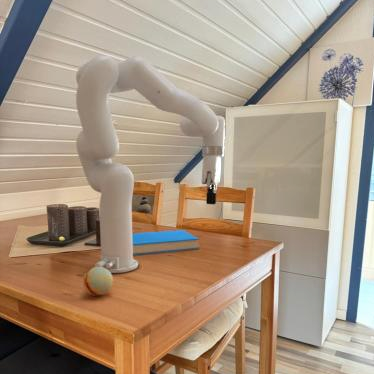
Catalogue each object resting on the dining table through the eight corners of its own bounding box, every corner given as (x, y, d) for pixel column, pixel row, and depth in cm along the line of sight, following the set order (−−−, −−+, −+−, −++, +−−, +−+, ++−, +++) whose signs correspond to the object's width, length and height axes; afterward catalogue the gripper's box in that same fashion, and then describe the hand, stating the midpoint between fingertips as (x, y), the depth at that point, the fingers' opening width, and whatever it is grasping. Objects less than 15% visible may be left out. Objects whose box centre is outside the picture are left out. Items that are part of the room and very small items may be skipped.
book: (199, 238, 128) (131, 243, 119) (198, 249, 129) (131, 255, 120) (182, 229, 144) (122, 233, 135) (182, 239, 145) (122, 244, 136)
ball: (118, 294, 86) (118, 267, 85) (93, 303, 81) (92, 274, 80) (103, 287, 91) (102, 261, 89) (78, 294, 86) (77, 267, 85)
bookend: (105, 246, 132) (104, 220, 130) (84, 244, 134) (83, 219, 132) (122, 238, 145) (122, 214, 143) (103, 237, 147) (102, 213, 146)
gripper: (207, 152, 131) (205, 201, 134) (197, 151, 117) (195, 205, 120) (227, 153, 129) (225, 202, 132) (219, 151, 115) (217, 207, 118)
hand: (211, 203), depth 126 cm, fingers closed
